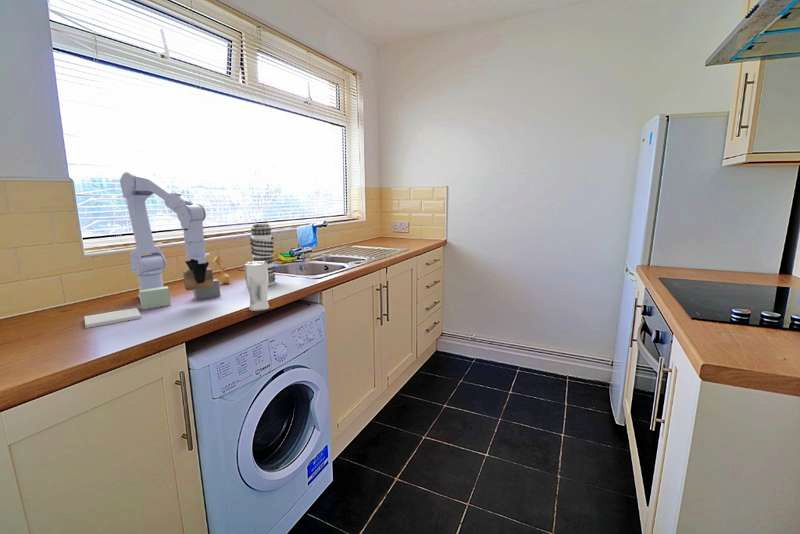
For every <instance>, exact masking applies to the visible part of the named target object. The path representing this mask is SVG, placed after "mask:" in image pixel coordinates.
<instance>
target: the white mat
mask: <svg viewBox="0 0 800 534" xmlns="http://www.w3.org/2000/svg"><path fill="white" fill-rule="evenodd" d="M139 318H140V319H142V315H141V313H140V311H139V309H138V308H137V307H134V308H133V307H132V308H126V309H120V310H114V311H108V312H103V313H97V314H96V313H95V314H92V315H91V314H90V315H85V316H84V326H85V329H89V328H94V327H100V326H106V325H112V324H115V323H121V322H122V323H123V322H128V320H129V321H134V320H139Z"/></svg>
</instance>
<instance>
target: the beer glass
mask: <svg viewBox="0 0 800 534" xmlns="http://www.w3.org/2000/svg"><path fill="white" fill-rule="evenodd" d="M244 279H245V284H246V288H247V289H246V290H247V291H248V295H249V308H248V309H249V311H251V312H261V311H262V312H263V311H266V310H268V309H269V308H270V304H269V300H268V288H269V285H268V268H267V262H262V261H258V262H254V261H248V262H246V263H244Z"/></svg>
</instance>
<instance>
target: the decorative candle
mask: <svg viewBox="0 0 800 534" xmlns="http://www.w3.org/2000/svg"><path fill="white" fill-rule="evenodd" d="M271 228H272V226H270V225H269V223H266V222H264V223H263V222H262V223H261V222H260V223H259V222H258V223H254V224H252V226H251V227H250V230H251V231H250V233H251V237H250V238H249V242H250V243H249V245H250V246H251V247H250V250H251V252H250V253H251V254H252V255H251V257H252V258H253V262H258V261H262V262H267V268H268V286H272V285H275V284H276V274H275V273H276V270H274V269H275V266H274V261H273V260H274V259H273V257H274V252H275V251H274V250H273V248H274V242H273V241H272V240H274V237H273V236H272V231H271Z"/></svg>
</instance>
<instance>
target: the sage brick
mask: <svg viewBox="0 0 800 534" xmlns="http://www.w3.org/2000/svg"><path fill="white" fill-rule="evenodd" d="M138 295H140V298H139V300H140V308H141V310H143V309H145V310H148V308H151V309H154V308H153V307H157V308H161V307H160V306H163V307H167V305H169V306H172V303H171V295H170V288H169V286H166V285H165V286H163V287H158V288H151V289H143V290H140V289H139V290H138Z"/></svg>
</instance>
